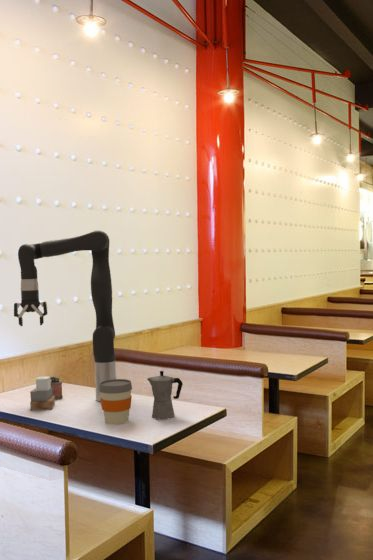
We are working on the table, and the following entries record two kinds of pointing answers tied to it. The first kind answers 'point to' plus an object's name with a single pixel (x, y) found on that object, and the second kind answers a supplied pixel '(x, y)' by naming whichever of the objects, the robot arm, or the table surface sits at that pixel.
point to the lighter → (56, 387)
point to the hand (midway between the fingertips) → (31, 325)
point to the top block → (43, 383)
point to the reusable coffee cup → (116, 400)
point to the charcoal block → (41, 395)
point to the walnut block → (43, 404)
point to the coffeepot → (163, 395)
